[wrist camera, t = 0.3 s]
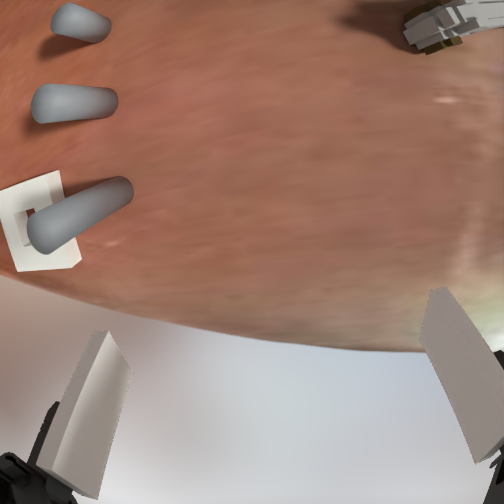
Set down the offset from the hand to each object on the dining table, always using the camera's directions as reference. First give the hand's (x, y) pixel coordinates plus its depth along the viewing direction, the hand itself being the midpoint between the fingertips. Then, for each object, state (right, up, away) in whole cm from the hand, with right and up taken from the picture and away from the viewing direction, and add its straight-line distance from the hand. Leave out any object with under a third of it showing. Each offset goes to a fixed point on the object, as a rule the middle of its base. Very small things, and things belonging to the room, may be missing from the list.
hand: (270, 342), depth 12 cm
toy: (+28, +34, +12) cm, 45 cm away
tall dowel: (-18, +11, +26) cm, 33 cm away
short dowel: (-21, +32, +17) cm, 42 cm away
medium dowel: (-19, +22, +21) cm, 36 cm away
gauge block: (-34, +8, +29) cm, 46 cm away
